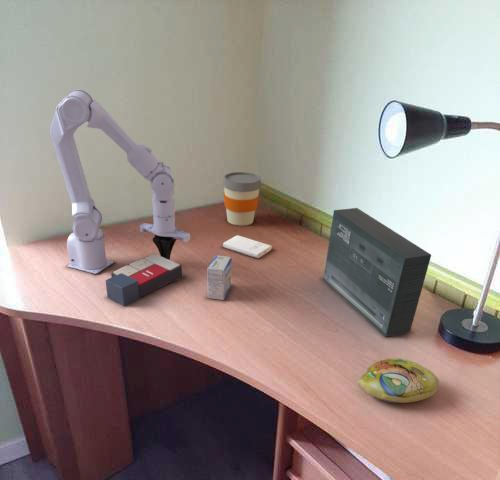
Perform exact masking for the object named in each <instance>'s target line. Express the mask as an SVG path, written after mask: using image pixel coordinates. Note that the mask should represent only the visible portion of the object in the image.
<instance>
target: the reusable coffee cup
mask: <svg viewBox="0 0 500 480" xmlns="http://www.w3.org/2000/svg"><path fill="white" fill-rule="evenodd" d="M261 181H262V179H261V177H260V176H259V175H258V174H255V173H253V172H252V173H251V172H245V171H232V172H229V173H226V174H224V175H223V182H222V186H223V189H224V190H223V191H224V192H223V201H224V202H223V203H224V208H225V209H226V210H225V211H226V219H227V222H228V224H231V225H233V226H240V227H241V226H249V225H252V224H253V223H254V220H255V214H256V210H257V209H258V204H259V201H260V189H261V186H262V184H261V183H262V182H261Z"/></svg>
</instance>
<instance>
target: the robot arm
mask: <svg viewBox="0 0 500 480" xmlns="http://www.w3.org/2000/svg"><path fill="white" fill-rule="evenodd" d="M86 122H88V124H87V125H86V128H91V129H98V130H101V131H102V132H103V133H104V134H105V135H106V136H108V138H110V139H111V141H113V142H114V143H115V144H116V145H117V146H118V147H119V148H120V149H122V150H123V151H124V152H125V153H126V161H127V162H128V163H129V164H130V166H132V167H133V168H134V169H135V170H136V171H137V172H138V173H139V174H140V175H141V176H142V177H143V178H144V179H145V180H147V181H149V182H150V188H151V190H152V196H151V200H152V203H151V205H152V219H153V223H145V222H143V223H141V224H140V225H139V232H140V233H148V234H153V235H154V236H153V237H152V242H153V243H154V245H155V246H156V248H157V251H158V253H159V256H161V257H164V258H166V259H168V260H170V261H171V259H170V258H171V254H172V251H173V248H174V245H175V243H176V242H177V240H179V241H183V243H189V241H191V232H186V231H184V230H182V229H180V228H177V227H176V210H175V209H176V205H175V203H176V202H175V196H174V195H175V190H174V189H175V177H174V173H173V171H172V170H171V167H170V166H168V165H166V163H165V162H164V161H162V162H161V161H160V159H158V157H157V156H156V155H155V154H154V153H153V152H152V151H153V149H152V148H151V146H150V145H147V146H146V144H144V143H137V142H135V141H134V140H133V138H132V137H131V136H130V135H129V134H128V133H127V132H126V130H124V129H123V127H121V125H120V124H119V123H118V121H116V120H115V119H114V118H113V117H112V115H111V114H110V113H109V112H108V111H107V110H106V108H104V107H103V106H102V104H101V103H100V102H99V101H97V100H96V99H93V97H92V96H91V95H90V94H89V92H87V91H86V90H83V89H78V88H77V89H73V90H72V91H70V92H69V93H68V94H67V95H66V96H65V97H64V98H63V99H62V100H61V101H60V102H59V103H58V105H56V107H55V111H54V115H53V118H52V122H51V125H50V128H49V134H50V138H51V141H52V145H53V149H54V151H55V154H56V157H57V160H58V164H59V167H60V171H61V173H62V177H63V180H64V183H65V187H66V191H67V193H68V197H69V199H70V200H69V201H70V203H71V216H72V219H73V224H72V232H71V233H70V234H69V236H68V238H67V240H66V249H67V256H68V259H69V260H68V261H69V263H68V264H67V268H71V269H75V270H78V271H83V272H86V273H90V274H94V275H98V274H99V273H100V272H102V271H104V270H105V269H107V268H108V267H109V266H111V265H113V264H114V260H110V259H107V254H106V245H105V244H106V243H105V235H104V232H103V230H102V229H101V227H100V226H101V224H102V221H103V215H102V213H101V211H100V210H99V208H97V206H96V203H95V201H94V199H93V197H91V193H90V189H89V185H88V183H87V178H86V176H85V172H84V169H83V165H82V162H81V161H82V160H81V158H80V155H79V151H78V148H77V144H76V140H75V137H74V134H75V133H76V132H77V130H78V128H80V127H81V126H82V125H84V124H85V123H86Z"/></svg>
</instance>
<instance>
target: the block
mask: <svg viewBox="0 0 500 480" xmlns="http://www.w3.org/2000/svg"><path fill="white" fill-rule="evenodd" d="M105 289H106V295H107V299H109V300H111V301H112V302H115V303H117V304H119V305H121V306H122V307H126V306H127V305H130V304H131V303H133V302H135V301H137V300H139V299H140V298H139V287H138V281H137V280H135V279H133V278H131V277H129V276H127V275H124V274H122V273H121V274H118V275H116V276H114V277H112V276H111V277H110V278H107V279H106V280H105Z"/></svg>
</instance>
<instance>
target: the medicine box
mask: <svg viewBox="0 0 500 480" xmlns="http://www.w3.org/2000/svg"><path fill="white" fill-rule="evenodd" d="M232 262H233V258H232V257H231V256H226V255H219V254H218V255H217V254H216V255H215V256H214V258H213V260H212V261H211V263H210V264H209V266H208V267H207V270H206V290H207V291H206V293H207V294H206V295H207V299H212V300H220V301H225V299H226V297H227V295H228V293H229V291H230V289H231V287H232V266H233V265H232V264H233V263H232Z"/></svg>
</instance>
